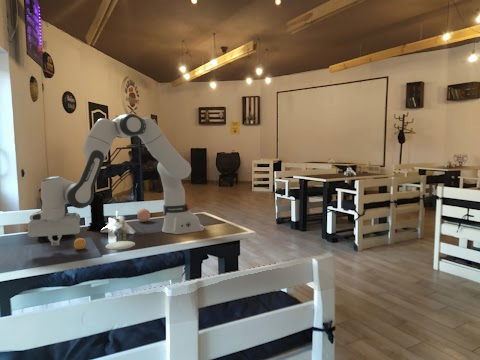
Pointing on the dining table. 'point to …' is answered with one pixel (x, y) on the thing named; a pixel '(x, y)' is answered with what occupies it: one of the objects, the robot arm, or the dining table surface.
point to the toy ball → (143, 215)
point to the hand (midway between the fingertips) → (55, 245)
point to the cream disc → (120, 245)
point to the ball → (79, 243)
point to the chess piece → (97, 213)
